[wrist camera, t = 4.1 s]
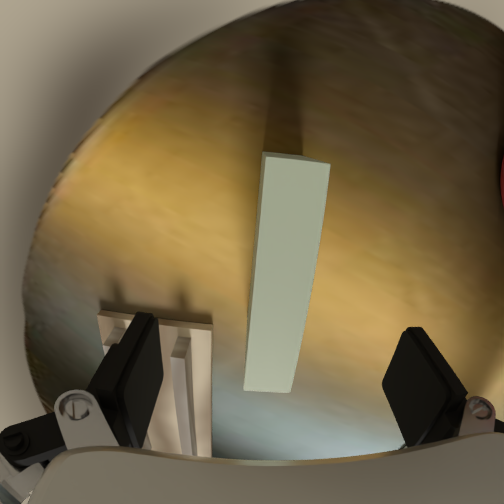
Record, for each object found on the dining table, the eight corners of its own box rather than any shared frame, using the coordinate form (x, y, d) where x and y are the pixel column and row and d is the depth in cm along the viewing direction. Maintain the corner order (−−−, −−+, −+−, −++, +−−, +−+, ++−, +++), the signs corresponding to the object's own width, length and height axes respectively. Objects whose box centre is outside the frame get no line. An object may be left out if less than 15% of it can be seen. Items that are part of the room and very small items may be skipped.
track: (212, 324, 27) (206, 352, 23) (212, 454, 35) (209, 478, 31) (101, 309, 27) (83, 332, 23) (133, 441, 34) (126, 462, 31)
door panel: (302, 155, 22) (330, 164, 14) (281, 319, 27) (289, 392, 18) (262, 151, 22) (265, 156, 14) (247, 317, 27) (243, 390, 18)
